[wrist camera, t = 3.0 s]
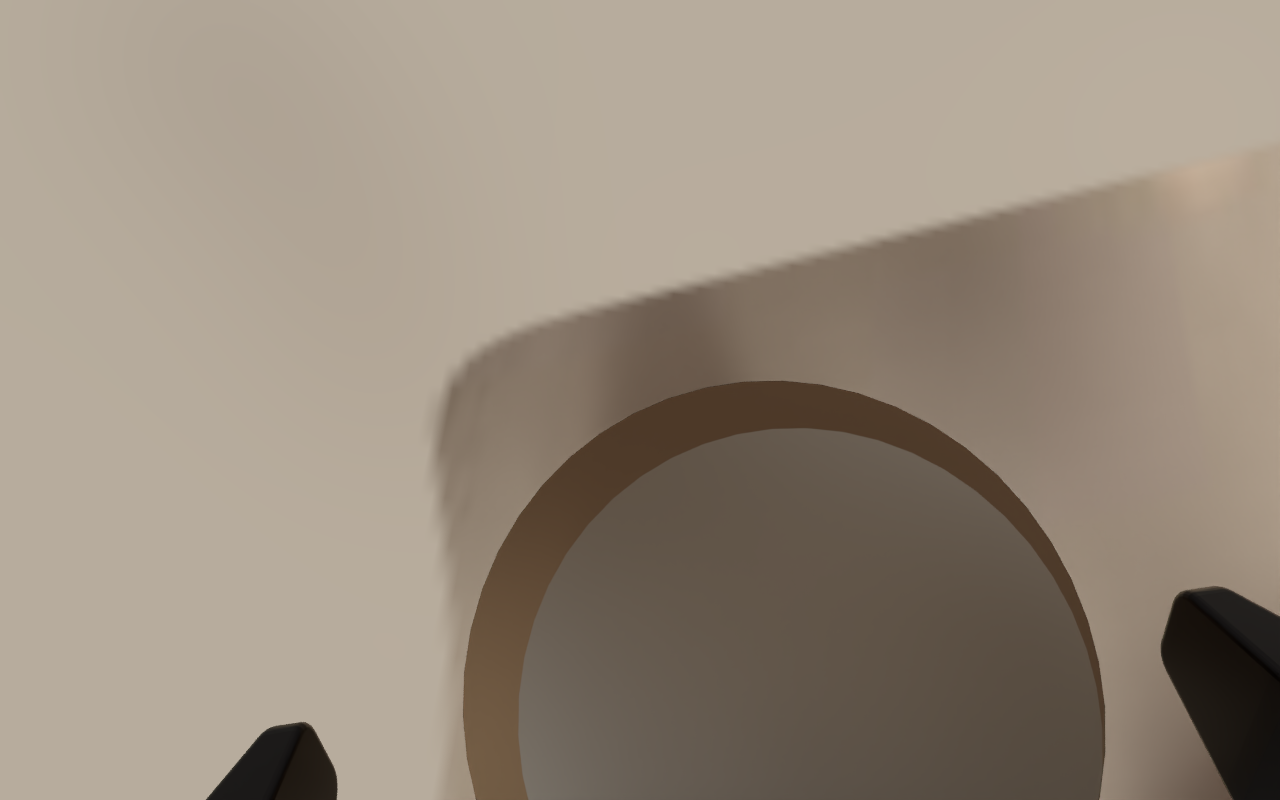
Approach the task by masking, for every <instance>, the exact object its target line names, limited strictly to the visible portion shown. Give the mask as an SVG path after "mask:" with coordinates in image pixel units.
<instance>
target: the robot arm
mask: <svg viewBox="0 0 1280 800" xmlns="http://www.w3.org/2000/svg"><path fill="white" fill-rule="evenodd" d="M1161 656H1162V661H1163V664H1164V666H1165V669H1166V671H1167V673H1168V675H1169V677H1170V679H1171V681H1172V683H1173V685H1174V687H1175V689H1176V691H1177V693H1178V695H1179V697H1180V699H1181V700H1182V702H1183V704H1184V706H1185V708H1186V710H1187V712H1188V714H1189V716H1190V718H1191V720H1192V722H1193V724H1194V726H1195V728H1196V730H1197V732H1198V734H1199V736H1200V738H1201V740H1202V742H1203V744H1204V746H1205V748H1206V749H1207V751H1208V753H1209V755H1210V757H1211V759H1212V761H1213V763H1214V765H1215V767H1216V769H1217V771H1218V773H1219V775H1220V777H1221V779H1222V781H1223V783H1224V785H1225V787H1226V789H1227V790H1228V792H1229V794H1230V796H1231V798H1232V799H1233V800H1280V616H1278V615H1276V614H1274V613H1272V612H1271V611H1269V610H1267V609H1265V608H1263V607H1261V606H1259V605H1258V604H1256V603H1254V602H1252V601H1250V600H1248V599H1246V598H1245V597H1243V596H1241V595H1239V594H1237V593H1235V592H1233V591H1231V590H1229V589H1227V588H1223V587H1218V586H1212V587H1205V588H1198V589H1191V590H1185V591H1182V592H1180V593H1179V594H1178V595H1177V596H1176V597H1175V599H1174V601H1173V604H1172V608H1171V611H1170V614H1169V618H1168V621H1167V625H1166V628H1165V631H1164V635H1163V638H1162V642H1161ZM206 800H337V776H336V772H335V769H334V766H333V764H332V762H331V760H330V759H329V757H328V755H327V753H326V751H325V749H324V747H323V745H322V743H321V741H320V740H319V738H318V736H317V734H316V732H315V730H314V729H313V727H312V726H311V725H309V724H308V723H306V722H299V723H293V724H286V725H279V726H274V727H271V728H269V729H267V730H266V731H265V732H263V733H262V734H261V735H260V736H259V737H258V738H257V740H256V741H255V742H254V743H253V744H252V745H251V747H250V748H249V749H248V750H247V751H246V753H245V754H244V755H243V756H242V757H241V759H240V760H239V761H238V762H237V763H236V765H235V766H234V767H233V768H232V770H230V772H229V773H228V774H227V775H226V776H225V778H224V779H223V780H222V781H221V782H220V784H219V785H218V786H217V787H216V788H215V790H214V791H213V792H212V793H211V794H210V795H209V797H208V798H207V799H206Z"/></svg>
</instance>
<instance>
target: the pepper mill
mask: <svg viewBox="0 0 1280 800" xmlns="http://www.w3.org/2000/svg"><path fill="white" fill-rule="evenodd" d="M463 720H464V731H465V741H466V752H467V760H468V765H469V770H470V774H471V779H472V783H473V788H474V792H475V797H476V800H1099V798H1100V790H1101V782H1102V774H1103V765H1104V757H1105V705H1104V697H1103V690H1102V682H1101V675H1100V668H1099V661H1098V658H1097V654H1096V650H1095V646H1094V642H1093V639H1092V635H1091V631H1090V627H1089V623H1088V620H1087V617H1086V615H1085V612H1084V610H1083V607H1082V605H1081V602H1080V600H1079V597H1078V595H1077V592H1076V590H1075V587H1074V585H1073V582H1072V580H1071V578H1070V576H1069V574H1068V572H1067V570H1066V568H1065V567H1064V565H1063V563H1062V561H1061V559H1060V557H1059V556H1058V554H1057V552H1056V550H1055V548H1054V546H1053V545H1052V543H1051V541H1050V540H1049V538H1048V537H1047V535H1046V534H1045V533H1044V531H1043V530H1042V528H1041V527H1040V526H1039V524H1038V523H1037V521H1036V520H1035V519H1034V517H1033V516H1032V514H1031V513H1030V512H1029V510H1028V509H1027V507H1026V506H1025V505H1024V504H1023V503H1022V502H1021V501H1020V499H1019V498H1018V497H1017V496H1016V495H1015V494H1014V493H1013V492H1012V491H1011V490H1010V488H1009V487H1008V486H1007V485H1006V484H1005V483H1004V482H1003V481H1002V480H1001V479H1000V477H999V476H998V475H997V474H995V473H994V472H993V471H992V470H991V469H990V468H988V467H987V466H986V465H985V464H984V463H983V462H982V461H980V460H979V459H978V458H977V457H976V456H975V455H973V454H972V453H971V452H970V451H969V450H968V449H966V448H965V447H964V446H962V445H961V444H959V443H958V442H956V441H955V440H953V439H952V438H950V437H949V436H947V435H946V434H944V433H943V432H941V431H940V430H938V429H937V428H935V427H934V426H932V425H930V424H929V423H927V422H925V421H923V420H921V419H919V418H917V417H915V416H913V415H911V414H909V413H907V412H905V411H903V410H901V409H899V408H897V407H895V406H892V405H889V404H886V403H884V402H881V401H878V400H875V399H873V398H870V397H867V396H864V395H862V394H859V393H854V392H850V391H846V390H841V389H837V388H833V387H828V386H824V385H818V384H808V383H798V382H788V381H760V382H740V383H733V384H727V385H720V386H714V387H707V388H703V389H700V390H696V391H693V392H689V393H686V394H682V395H679V396H675V397H672V398H669V399H666V400H664V401H662V402H659V403H657V404H655V405H652V406H650V407H648V408H646V409H643V410H641V411H639V412H636V413H634V414H632V415H631V416H629V417H627V418H626V419H624V420H622V421H620V422H619V423H617V424H615V425H614V426H612V427H610V428H609V429H607V430H605V431H604V432H602V433H600V434H599V435H598V436H597V437H595V438H594V439H593V440H591V441H590V442H589V443H588V444H586V445H585V446H584V447H583V448H581V449H580V450H579V451H577V452H576V453H575V454H574V455H572V456H571V457H570V458H569V459H568V460H567V461H566V462H565V463H564V464H563V465H562V466H561V467H560V468H559V469H558V470H557V471H556V472H555V473H554V474H553V475H552V476H551V477H550V478H549V479H548V480H547V481H546V482H545V483H544V484H543V485H542V487H541V488H540V489H539V491H538V492H537V493H536V494H535V496H534V497H533V498H532V500H531V501H530V502H529V504H528V505H527V506H526V508H525V509H524V510H523V511H522V513H521V514H520V515H519V517H518V518H517V520H516V522H515V524H514V525H513V527H512V529H511V531H510V532H509V534H508V536H507V537H506V539H505V541H504V543H503V544H502V546H501V548H500V549H499V551H498V553H497V556H496V558H495V560H494V563H493V565H492V568H491V570H490V572H489V575H488V577H487V579H486V582H485V584H484V586H483V589H482V592H481V596H480V599H479V603H478V606H477V610H476V613H475V617H474V620H473V624H472V627H471V632H470V638H469V645H468V651H467V658H466V664H465V671H464V700H463Z"/></svg>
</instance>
